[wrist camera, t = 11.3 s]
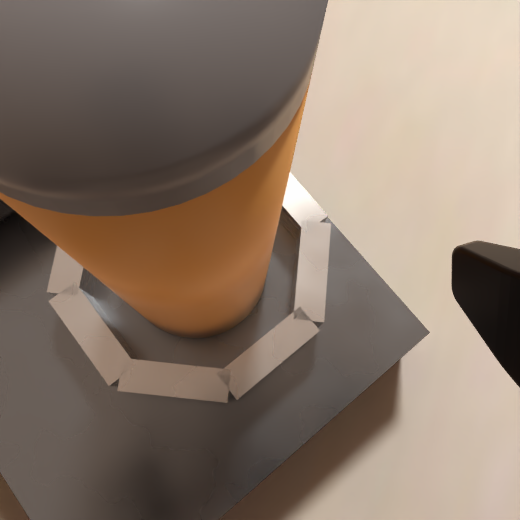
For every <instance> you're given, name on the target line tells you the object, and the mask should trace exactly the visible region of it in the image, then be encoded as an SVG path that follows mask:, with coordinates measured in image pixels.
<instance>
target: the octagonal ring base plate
mask: <svg viewBox="0 0 520 520" xmlns="http://www.w3.org/2000/svg"><path fill="white" fill-rule="evenodd" d="M429 333H430V332H429V331H428V330H427V329H426V328H425V326H424V325H423V324H422V323H421V322H420V321H419V320H418V319H417V317H416V316H415V315H414V314H413V313H412V312H411V311H410V310H409V308H408V307H407V306H406V305H405V304H404V303H403V302H402V301H401V299H400V298H399V297H398V296H397V295H396V294H395V293H394V292H393V290H392V289H391V288H390V287H389V286H388V285H387V284H386V283H385V281H384V280H383V279H382V278H381V277H380V276H379V275H378V274H377V272H376V271H375V270H374V269H373V268H372V267H371V266H370V265H369V263H368V262H367V261H366V260H365V259H364V258H363V257H362V255H361V254H360V253H359V252H358V251H357V250H356V249H355V248H354V246H353V245H352V244H351V243H350V242H349V241H348V240H347V239H346V237H345V236H344V235H343V234H342V233H341V232H340V231H339V230H338V228H337V227H336V226H335V225H334V224H333V223H332V222H331V221H330V219H329V218H328V215H327V214H326V212H325V211H324V210H323V209H322V208H321V207H320V206H319V205H318V203H317V202H316V201H315V200H314V199H313V198H312V197H311V196H310V194H309V193H308V192H307V191H306V190H305V189H304V188H303V187H302V185H301V184H300V183H299V182H298V181H297V180H296V179H295V178H294V176H293V175H292V174H291V173H289V178H288V182H287V187H286V191H285V196H284V200H283V205H282V209H281V213H280V218H279V222H278V227H277V231H276V236H275V240H274V245H273V249H272V254H271V258H270V263H269V267H268V272H267V276H266V281H265V285H264V289H263V292H262V294H261V297H260V299H259V301H258V302H257V304H256V306H255V307H254V309H253V310H252V311H251V313H250V314H249V315H248V316H247V317H246V318H245V319H244V320H243V321H241V322H240V323H239V324H238V325H236V326H235V327H233V328H231V329H230V330H228V331H226V332H223V333H221V334H218V335H215V336H211V337H205V338H185V337H180V336H176V335H172V334H170V333H167V332H165V331H163V330H161V329H159V328H158V327H156V326H155V325H153V324H152V323H151V322H149V321H148V320H147V319H146V318H145V317H143V316H142V315H141V314H140V313H139V312H137V311H136V310H135V309H134V308H132V307H131V306H130V305H129V304H128V303H126V302H125V301H124V300H123V299H122V298H120V297H119V296H118V295H117V294H115V293H114V292H113V291H112V290H111V289H109V288H108V287H107V286H106V285H104V284H103V283H102V282H101V281H100V280H98V279H97V278H96V277H95V276H94V275H92V274H91V273H90V272H89V271H87V270H86V269H85V268H84V267H83V266H81V265H80V264H79V263H78V262H77V261H75V260H74V259H73V258H72V257H70V256H69V255H68V254H67V253H66V252H64V251H63V250H62V249H61V248H60V247H58V246H57V245H56V244H55V243H53V242H52V241H51V240H50V239H49V238H47V237H46V236H45V235H44V234H42V233H41V232H40V231H39V230H38V229H36V228H35V227H34V226H33V225H32V224H30V223H29V222H28V221H27V220H25V219H24V218H23V217H22V216H21V215H19V214H18V213H17V212H16V211H15V210H13V209H12V208H11V207H10V206H8V205H7V204H6V203H5V202H4V201H2V200H1V199H0V473H1V474H2V476H3V478H4V479H5V481H6V482H7V484H8V486H9V487H10V489H11V490H12V492H13V493H14V495H15V497H16V498H17V500H18V501H19V503H20V504H21V506H22V508H23V509H24V511H25V512H26V514H27V515H28V517H29V519H30V520H219V519H220V518H221V517H222V516H223V515H224V514H225V513H227V512H228V511H229V510H230V509H231V508H232V507H233V506H234V505H236V504H237V503H238V502H239V501H240V500H241V499H242V498H244V497H245V496H246V495H247V494H248V493H249V492H250V491H251V490H253V489H254V488H255V487H256V486H257V485H258V484H259V483H260V482H262V481H263V480H264V479H265V478H266V477H267V476H268V475H269V474H271V473H272V472H273V471H274V470H275V469H276V468H277V467H279V466H280V465H281V464H282V463H283V462H284V461H285V460H286V459H288V458H289V457H290V456H291V455H292V454H293V453H294V452H295V451H297V450H298V449H299V448H300V447H301V446H302V445H303V444H305V443H306V442H307V441H308V440H309V439H310V438H311V437H312V436H314V435H315V434H316V433H317V432H318V431H319V430H320V429H321V428H323V427H324V426H325V425H326V424H327V423H328V422H329V421H331V420H332V419H333V418H334V417H335V416H336V415H337V414H338V413H340V412H341V411H342V410H343V409H344V408H345V407H346V406H347V405H349V404H350V403H351V402H352V401H353V400H354V399H355V398H356V397H358V396H359V395H360V394H361V393H362V392H363V391H364V390H366V389H367V388H368V387H369V386H370V385H371V384H372V383H373V382H375V381H376V380H377V379H378V378H379V377H380V376H381V375H382V374H384V373H385V372H386V371H387V370H388V369H389V368H390V367H392V366H393V365H394V364H395V363H396V362H397V361H398V360H399V359H401V358H402V357H403V356H404V355H405V354H406V353H407V352H408V351H410V350H411V349H412V348H413V347H414V346H415V345H416V344H417V343H419V342H420V341H421V340H422V339H423V338H424V337H425V336H427V335H428V334H429Z"/></svg>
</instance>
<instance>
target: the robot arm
mask: <svg viewBox="0 0 520 520" xmlns="http://www.w3.org/2000/svg"><path fill="white" fill-rule="evenodd" d="M452 292H453V295H454V297H455V299H456V301H457V302H458V304H459V305H460V307H461V308H462V310H463V311H464V312H465V314H466V315H467V317H468V318H469V320H470V321H471V323H472V324H473V326H474V327H475V328H476V330H477V331H478V333H479V334H480V336H481V337H482V339H483V340H484V341H485V343H486V344H487V346H488V347H489V349H490V350H491V352H492V353H493V355H494V356H495V357H496V359H497V360H498V361H499V363H500V364H501V366H502V367H503V368H504V369H505V371H506V372H507V373H508V374H509V375H510V377H511V378H512V379H513V380H514V381H515V383H516V384H517V385H518V386H519V387H520V249H517V248H512V247H507V246H502V245H497V244H493V243H488V242H483V241H473V242H470V243H466V244H463V245H460V246H457V247H456V248H455V249H454V250H453V253H452Z"/></svg>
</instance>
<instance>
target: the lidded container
mask: <svg viewBox="0 0 520 520" xmlns="http://www.w3.org/2000/svg"><path fill="white" fill-rule="evenodd" d="M327 3H328V0H0V199H1V200H2V201H4V202H5V203H6V204H7V205H8V206H10V207H11V208H12V209H13V210H15V211H16V212H17V213H18V214H19V215H21V216H22V217H23V218H24V219H25V220H27V221H28V222H29V223H30V224H32V225H33V226H34V227H35V228H36V229H38V230H39V231H40V232H41V233H42V234H44V235H45V236H46V237H47V238H49V239H50V240H51V241H52V242H53V243H55V244H56V245H57V246H58V247H60V248H61V249H62V250H63V251H64V252H66V253H67V254H68V255H69V256H70V257H72V258H73V259H74V260H75V261H77V262H78V263H79V264H80V265H81V266H83V267H84V268H85V269H86V270H87V271H89V272H90V273H91V274H92V275H94V276H95V277H96V278H97V279H98V280H100V281H101V282H102V283H103V284H104V285H106V286H107V287H108V288H109V289H111V290H112V291H113V292H114V293H115V294H117V295H118V296H119V297H120V298H122V299H123V300H124V301H125V302H126V303H128V304H129V305H130V306H131V307H132V308H134V309H135V310H136V311H137V312H139V313H140V314H141V315H142V316H143V317H145V318H146V319H147V320H148V321H149V322H151V323H152V324H153V325H155V326H156V327H158V328H159V329H161V330H163V331H165V332H167V333H170V334H172V335H176V336H180V337H185V338H205V337H211V336H215V335H218V334H221V333H223V332H226V331H228V330H230V329H231V328H233V327H235V326H236V325H238V324H239V323H240V322H241V321H243V320H244V319H245V318H246V317H247V316H248V315H249V314H250V313H251V311H252V310H253V309H254V307H255V306H256V304H257V302H258V301H259V299H260V297H261V294H262V292H263V289H264V285H265V281H266V276H267V272H268V267H269V263H270V258H271V254H272V249H273V245H274V240H275V236H276V231H277V227H278V222H279V218H280V213H281V209H282V205H283V200H284V196H285V191H286V187H287V182H288V178H289V173H290V169H291V164H292V160H293V155H294V151H295V146H296V142H297V137H298V133H299V128H300V124H301V119H302V115H303V110H304V106H305V101H306V97H307V93H308V88H309V84H310V79H311V75H312V70H313V66H314V61H315V57H316V52H317V48H318V43H319V39H320V34H321V30H322V25H323V21H324V16H325V12H326V7H327Z"/></svg>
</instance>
